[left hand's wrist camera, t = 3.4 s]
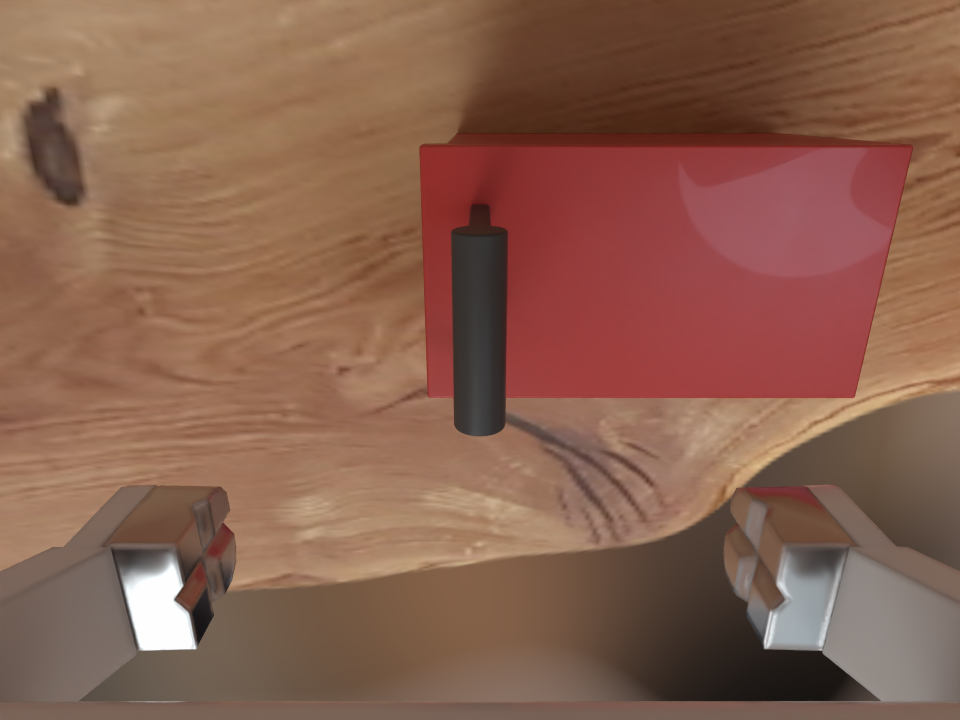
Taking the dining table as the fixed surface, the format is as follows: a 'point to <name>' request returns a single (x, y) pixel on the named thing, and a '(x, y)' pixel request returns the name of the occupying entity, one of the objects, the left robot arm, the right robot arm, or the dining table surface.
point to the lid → (651, 269)
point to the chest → (639, 138)
